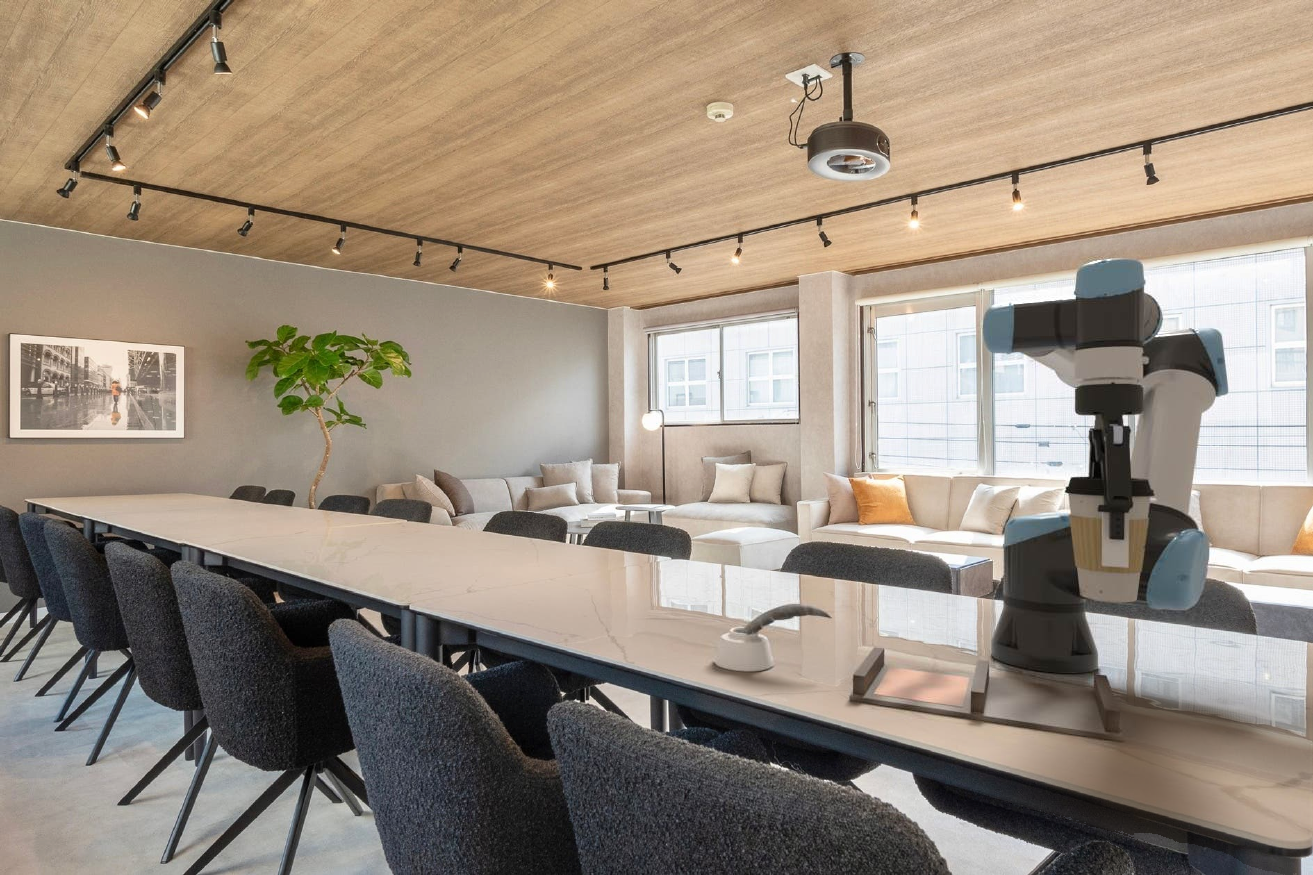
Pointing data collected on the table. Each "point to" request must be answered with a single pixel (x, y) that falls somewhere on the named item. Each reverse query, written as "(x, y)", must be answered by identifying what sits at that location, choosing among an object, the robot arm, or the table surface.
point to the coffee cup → (1088, 540)
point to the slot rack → (990, 697)
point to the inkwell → (756, 640)
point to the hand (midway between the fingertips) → (1107, 560)
